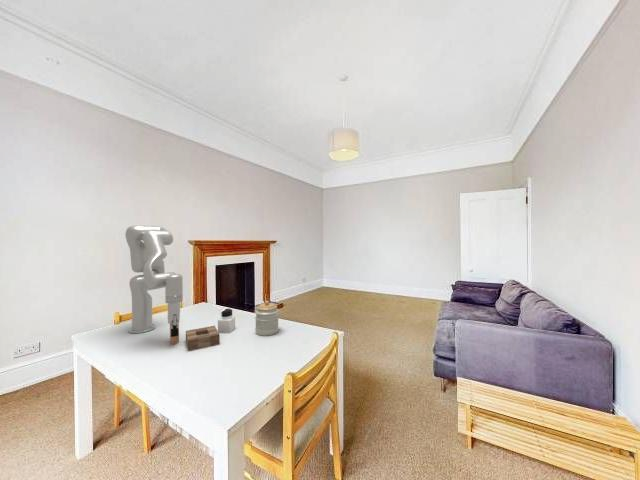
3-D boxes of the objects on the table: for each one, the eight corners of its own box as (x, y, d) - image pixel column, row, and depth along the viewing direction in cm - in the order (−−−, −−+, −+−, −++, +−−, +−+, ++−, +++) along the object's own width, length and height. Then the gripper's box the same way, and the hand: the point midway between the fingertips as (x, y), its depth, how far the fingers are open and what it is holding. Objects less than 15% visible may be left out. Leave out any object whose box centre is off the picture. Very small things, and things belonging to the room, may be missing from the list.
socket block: (185, 340, 128) (185, 330, 128) (214, 334, 136) (214, 325, 136) (188, 351, 116) (187, 340, 116) (219, 344, 124) (219, 334, 124)
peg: (169, 342, 126) (169, 318, 126) (178, 340, 128) (178, 317, 128) (170, 345, 123) (169, 321, 123) (179, 343, 125) (179, 319, 125)
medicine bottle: (235, 328, 145) (235, 308, 145) (229, 333, 138) (229, 311, 138) (223, 327, 146) (223, 307, 146) (217, 332, 139) (217, 311, 139)
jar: (276, 336, 134) (276, 304, 133) (252, 336, 134) (252, 303, 134) (280, 327, 147) (280, 297, 146) (258, 327, 147) (258, 297, 147)
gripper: (165, 296, 130) (165, 330, 131) (165, 303, 116) (165, 342, 116) (181, 294, 134) (181, 327, 135) (183, 301, 120) (184, 338, 120)
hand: (174, 334), depth 125 cm, fingers closed on peg, 4 cm apart
